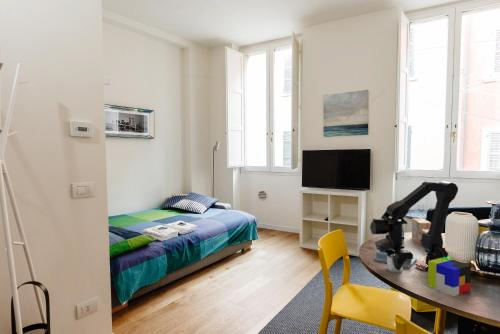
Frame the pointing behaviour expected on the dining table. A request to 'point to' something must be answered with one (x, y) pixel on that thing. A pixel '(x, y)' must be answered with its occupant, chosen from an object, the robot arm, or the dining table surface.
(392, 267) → the engine block
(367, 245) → the dining table surface
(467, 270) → the puzzle toy
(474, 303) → the dining table surface
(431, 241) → the robot arm
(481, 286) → the dining table surface
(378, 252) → the chassis
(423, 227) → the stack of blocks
